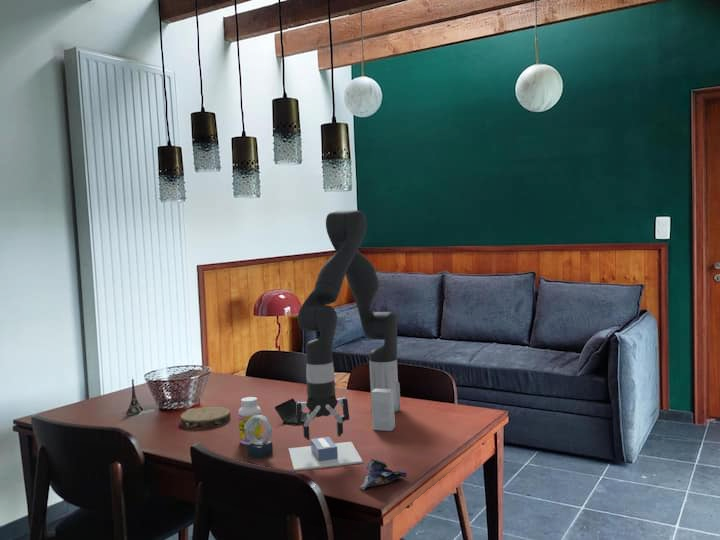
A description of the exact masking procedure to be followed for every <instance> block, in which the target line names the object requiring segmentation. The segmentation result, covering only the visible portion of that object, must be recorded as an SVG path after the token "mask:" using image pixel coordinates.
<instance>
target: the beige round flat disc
mask: <svg viewBox="0 0 720 540" xmlns="http://www.w3.org/2000/svg"><path fill="white" fill-rule="evenodd" d="M230 418H231V410H230V408H227V407H226V406H204V407H197V408H193V409H190V410H187V411H186V410H185V411H184V412H183V413H181V414H180V425H181V426H182V427H184V428H186V429H190V428H204V429H210V428H209V427H212V428H216V427H219V426H218V425H220V426H223V425H225V424H224V423H226V424H227V423H229V422H230V421H231V419H230ZM228 421H229V422H228ZM222 424H223V425H222ZM215 426H216V427H215Z"/></svg>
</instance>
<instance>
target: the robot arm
mask: <svg viewBox="0 0 720 540" xmlns="http://www.w3.org/2000/svg"><path fill="white" fill-rule="evenodd" d="M325 218H326V219H325V228H326V229H325V230H326V233H327V235H328V238H329V240H330V243H331V245H332V246H333V248H334V251H335V252H336V253H334V254H333V255H332V256H331V257H330V258H329V259H328V260H327V261H326V262H325V263H324V264H323V266H322V267H321V269H320V271H319V273H318V275H317V279H316V281H315V284H314V286H313V287H314V288H313V289H312V290H311V291H310V294H309V295H308V296H307V298H306V299H305V300H304V302H303V303H302V305H301V307H300V308H299V310H298V313H297V324H298V327H299V328H300V329H301V330H303V331H305V332H320V333H319V337H318V338H317V339H313V340H310V341H308V342H307V343H306V345H305V355H306V371H305V372H306V373H305V374H306V375H305V378H306V379H305V380H306V391H307V392H306V393H307V394H306V395H307V400H306V401H300V400H297V401H295V402H296V422H297V425H296V426H298V425H299V426H301V427H302V430H303V431H302V432H303V436H304V439H306V441H311V438H310V426H309V425H310V423H311V422H312V421H313V420H314V418H316V417H317V418H320V417H329V416H330V415H332V416H333V418H335V420H336V434H337V437H342V435H343V433H344V427H343V423H344V422H345V421H349V420H350V411H349V403H348V399H347V397H346V396H342V397H340V398H337V397H336V383H335V367H334V360H333V345H334V344H333V343H334V337H335V334H336V333H335V332H336V328H337V324H338V314H337V312H336V310H335V308H334V307H333V306H331V305H329V304H333V303H336V301H337V300H338V298H339V295H340V292H341V289H342V285H343V282H344V280H345V279H344V278H345V277H346V281H347V283H348V286H349V289H350V291H351V294H352V297H353V299H354V302H355V304H356V307H357V310H358V314H359V319H360V323H361V327H362V331H363V333H364V335H365V337H366V338H368V339H369V340H378V341H379V340H383V341H384V344H383V345H382V346H381V347H380V346H379V347H378V348H375V349H373V350H370V351H369V353H368V360H369V381H370V382H369V384H370V392H371V391H373V390H374V389H393V396H394V413H396V412H401V410H402V409H401V393H400V392H401V388H400V382H399V380H398V379H399V378H398V377H399V376H398V355H397V354H398V319H397V316H396V314H395V312H393V311H374V310H373V308H372V302H373V301H374V299H375V297H376V295H377V293H378V290H379V286H380V283H379V278H378V276H377V272H376V270H375V267H374V265H373V264H372V262H371V261H370V260H369V259H368V258H367V257H366V256H364V254H362V253H361V252H360V251H359V249H360V247H361V245H362V244H363V240H364V238H365V236H366V232H367V227H368V223H367V217H366V215H365V214H364V212H363V211H361V210H355V209H354V210H351V209H347V210H341V209H340V210H332V211H331V212H329V213H328V214H327V215H326V217H325ZM338 404H339V406H341V408H342V415H340V414H339V413H338V412H337V411H336V409H335V408H336V407H337V405H338ZM370 406H371V411H372V399H371V398H370ZM305 407H306V408H307V409H308V412H306V413H307V416H306V417H305V419H304V420H302V419H301V411H304V410H305ZM312 415H313V416H312ZM315 416H316V417H315Z"/></svg>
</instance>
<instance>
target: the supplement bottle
mask: <svg viewBox="0 0 720 540" xmlns="http://www.w3.org/2000/svg"><path fill="white" fill-rule="evenodd" d="M240 404H241V407H239V409H238V412H237V413H238V429H239V430H238V433H239V443H241V445H246V446H248V445H250V444H252V442H251V441H250V439H248V437H247V435H246V432H245V429H244V426H245V424H246V422H247V421H248V420H249V419H250V418H251V417H252V416H254V415H256V416H257V415H262V409H261V407H260V406H259V405H258V398H257V397H256V396H255V397H254V396H246V397H243V398H241V400H240ZM262 423H263V422H262V421H261V420H260V422H259V424H258V426H257V427H256V428H255V431H254V432H253V434H254V436H255V437H256V438H257V439H258V440H263V424H262Z"/></svg>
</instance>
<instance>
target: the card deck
mask: <svg viewBox="0 0 720 540" xmlns="http://www.w3.org/2000/svg"><path fill="white" fill-rule="evenodd" d="M310 446H311V451H312V452H313V454H314V455H315V457H316V458H317V460H318V461H325V460H332V459H338V452H337V446H336V445H335V443H334V441H333V440H332V438H331V437H330V436H324V437H316V438H310Z"/></svg>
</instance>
